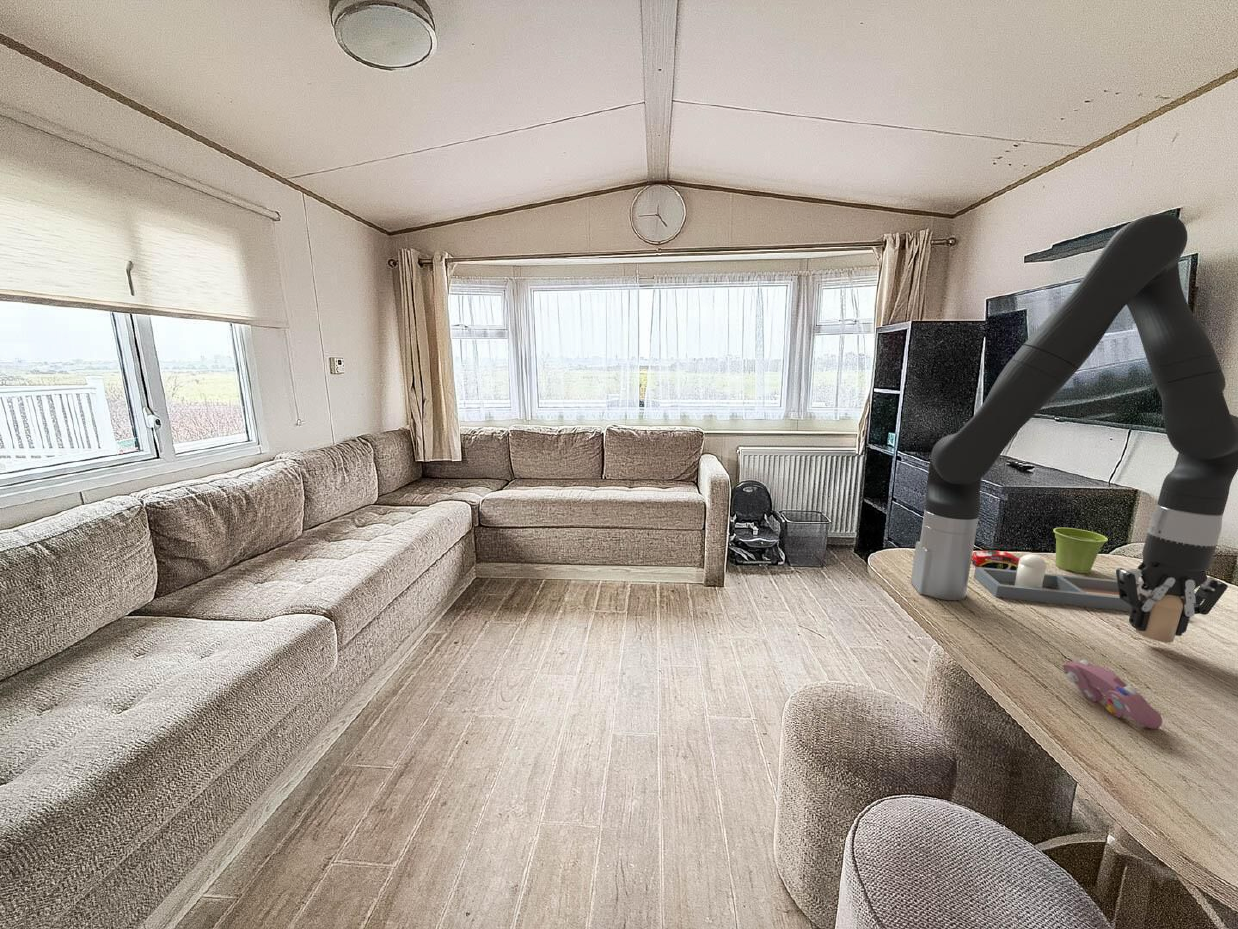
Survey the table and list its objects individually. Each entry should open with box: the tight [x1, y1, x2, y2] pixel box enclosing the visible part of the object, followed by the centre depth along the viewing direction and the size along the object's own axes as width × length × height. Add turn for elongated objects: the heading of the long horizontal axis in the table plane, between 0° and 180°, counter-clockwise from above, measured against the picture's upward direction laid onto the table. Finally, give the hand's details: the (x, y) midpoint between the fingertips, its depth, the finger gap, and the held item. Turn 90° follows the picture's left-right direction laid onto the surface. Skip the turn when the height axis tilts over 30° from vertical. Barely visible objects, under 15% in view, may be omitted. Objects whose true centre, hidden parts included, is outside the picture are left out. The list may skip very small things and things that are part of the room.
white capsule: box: [1013, 553, 1047, 589], centre depth 103 cm, size 4×4×8 cm
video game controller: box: [1062, 658, 1163, 730], centre depth 68 cm, size 10×5×7 cm, turn 5°
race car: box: [971, 550, 1021, 571], centre depth 116 cm, size 13×5×4 cm, turn 65°
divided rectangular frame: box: [973, 566, 1152, 612], centre depth 102 cm, size 31×10×2 cm, turn 76°
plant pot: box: [1052, 527, 1109, 574], centre depth 115 cm, size 9×9×9 cm
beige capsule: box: [1135, 591, 1183, 644], centre depth 82 cm, size 4×4×8 cm
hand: (1155, 630), depth 83 cm, fingers closed on beige capsule, 4 cm apart
